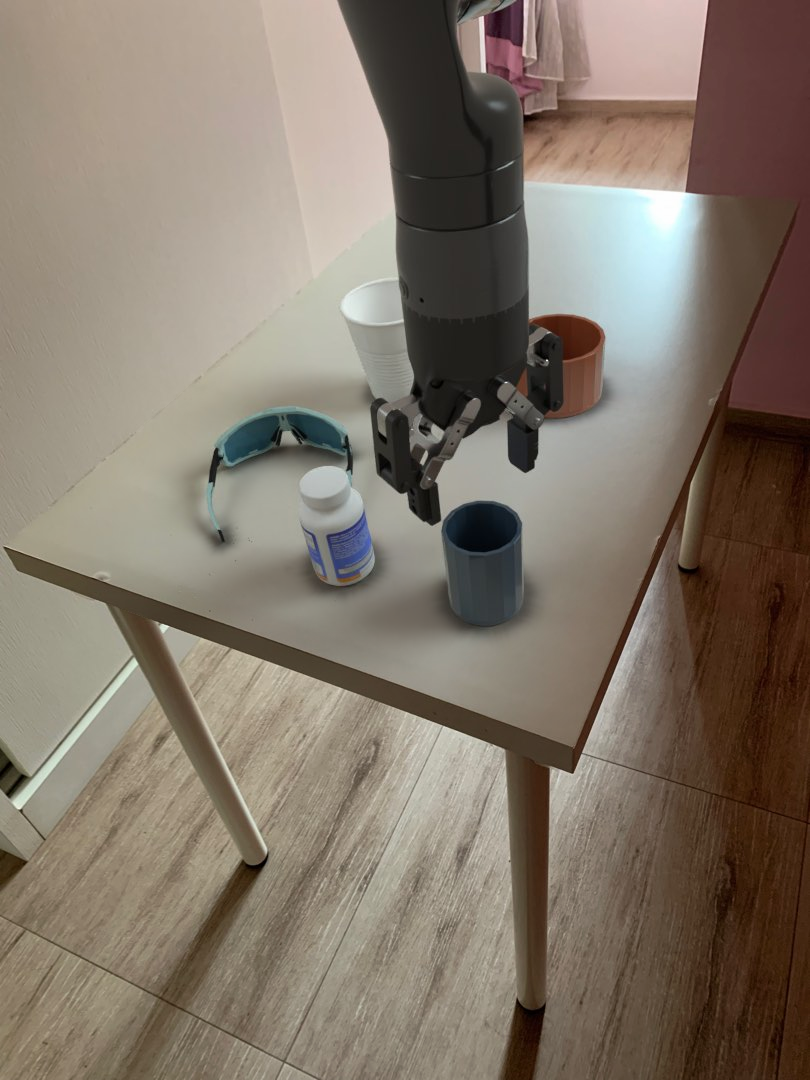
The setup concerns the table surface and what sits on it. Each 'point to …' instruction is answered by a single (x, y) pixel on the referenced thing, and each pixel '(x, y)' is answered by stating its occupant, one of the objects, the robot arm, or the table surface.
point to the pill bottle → (335, 527)
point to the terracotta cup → (575, 361)
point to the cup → (380, 336)
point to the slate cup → (484, 562)
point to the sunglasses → (276, 440)
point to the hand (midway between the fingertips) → (476, 491)
